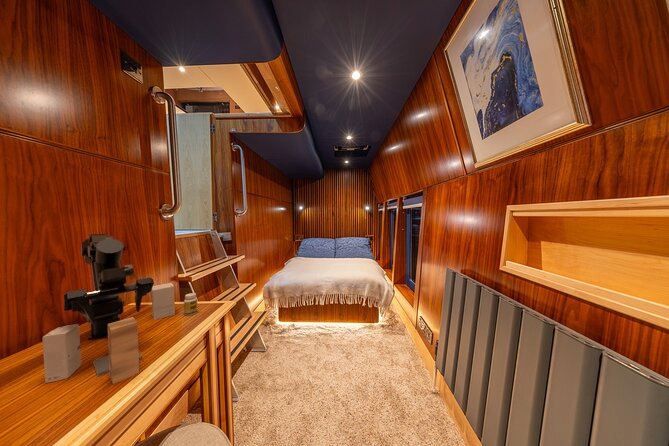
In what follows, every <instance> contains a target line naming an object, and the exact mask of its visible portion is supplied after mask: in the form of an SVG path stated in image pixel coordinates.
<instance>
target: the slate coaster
mask: <svg viewBox="0 0 669 446" xmlns="http://www.w3.org/2000/svg"><path fill="white" fill-rule="evenodd" d="M138 354H139V361H140V360H143V355H142V353H140V351H139V350H138ZM92 362H93V363H92V365H93V367H94V370H95V373H96V375H97V378H98V377H100V376H104V375H106V374H109V354H108V355H104V356H101V357H99V358H96V359H94V360H92Z"/></svg>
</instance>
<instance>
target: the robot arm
mask: <svg viewBox="0 0 669 446" xmlns="http://www.w3.org/2000/svg"><path fill="white" fill-rule="evenodd" d="M125 251H126V246H124V243H123V242H122V241H120V240H118V239H115V238H114V236H109V235H108V233H107V234H106V233H92V234H88V238H87V239H84V241H82V242H81V244H80V256H81V257H83V258H84V262H85V263H86V264H88V265H90V266H91V268H90V269H91V273H92V282H93V283H92V284H93V291H91V292H87V289H86V288H82V289H76V290H69V291H67V292H65V293H64V294H63V310H64V311H65V312H69V311H71V312H72V313H74V312H78V313H80V314H81V315H82V316H84V317H85V319H87V323H88V324H90V336H88V337H87V340H93V339H102V338H108V324H110V323H113V322H117V321H120V320H121V318H120V317H119V316H121V315H122V314H123V313H124V306H125V301H123V299H122V297H120V296H119V295H120V294H125V293H129V292H134V294H135V295H134V299H135V300H134V301H135V310H136V312H137V313H139V312H140V309H141V305H142V300H143V297H144V296H147V295H148V294H149V293H152V291H151V290H152V287H153V286H154V284H155V283H154V278H152V277H144V278H137V279H136V281H135V283H134V284H130V285H125V284H127V277H130V276H133V275H134V274H135V270H134V269H135V268H134V266H133V264H125V265H124V266H123V267H121V266H122V265H121V262H120V261H121V260H122V258H123V257H122V256H123V253H124V252H125Z"/></svg>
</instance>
